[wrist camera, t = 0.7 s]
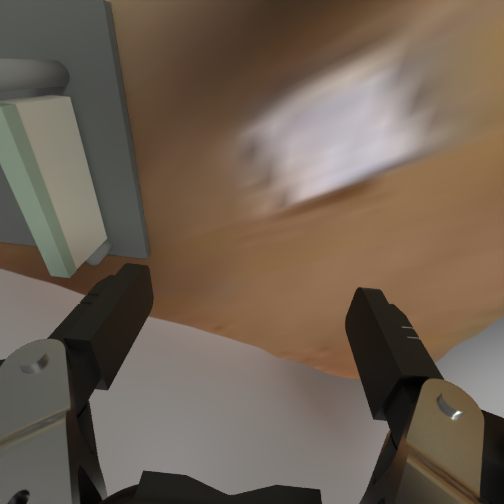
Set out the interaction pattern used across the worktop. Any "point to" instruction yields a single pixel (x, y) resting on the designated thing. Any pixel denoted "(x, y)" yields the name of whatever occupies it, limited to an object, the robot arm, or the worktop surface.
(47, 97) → the gate
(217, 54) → the worktop surface
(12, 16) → the gate frame
